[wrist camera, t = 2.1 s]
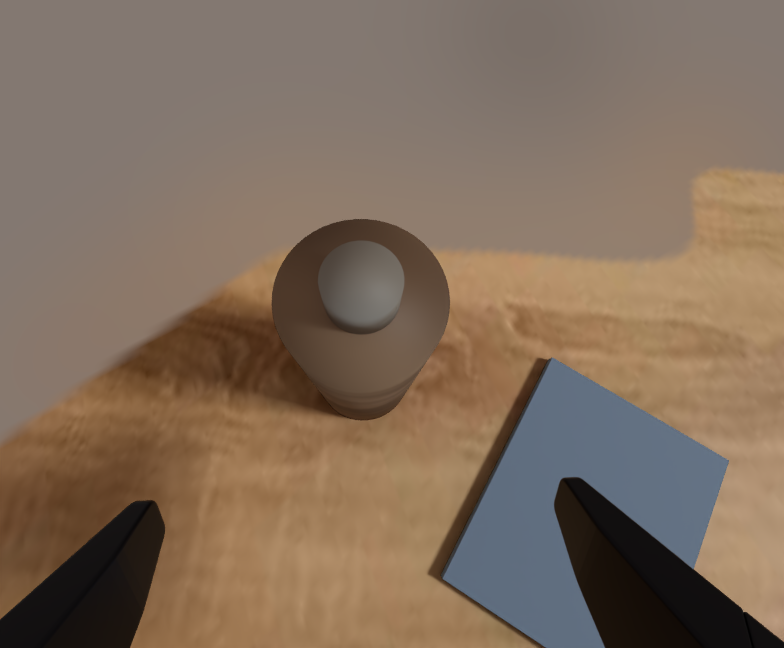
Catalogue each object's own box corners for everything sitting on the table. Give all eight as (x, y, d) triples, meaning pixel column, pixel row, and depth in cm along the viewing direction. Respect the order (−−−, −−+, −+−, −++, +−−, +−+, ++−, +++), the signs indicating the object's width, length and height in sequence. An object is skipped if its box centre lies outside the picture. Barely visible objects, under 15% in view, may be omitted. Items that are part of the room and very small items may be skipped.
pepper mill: (378, 437, 21) (394, 418, 9) (302, 389, 21) (218, 307, 9) (423, 361, 22) (492, 252, 10) (351, 317, 23) (333, 163, 11)
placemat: (638, 707, 18) (645, 714, 18) (440, 575, 19) (442, 578, 19) (721, 460, 22) (729, 460, 21) (548, 359, 23) (552, 357, 22)
